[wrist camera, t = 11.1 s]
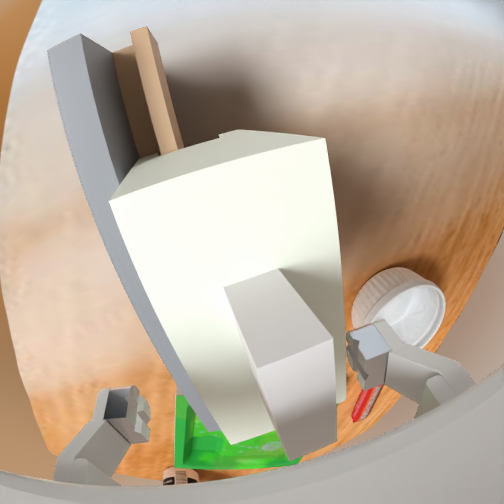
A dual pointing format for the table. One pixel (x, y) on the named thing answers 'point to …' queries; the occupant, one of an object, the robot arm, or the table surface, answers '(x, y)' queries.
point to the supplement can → (179, 476)
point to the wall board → (120, 152)
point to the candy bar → (366, 403)
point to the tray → (221, 445)
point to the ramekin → (401, 305)
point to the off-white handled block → (246, 278)
